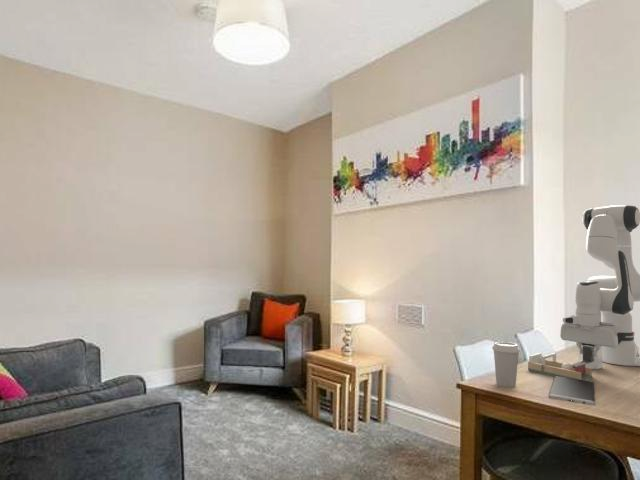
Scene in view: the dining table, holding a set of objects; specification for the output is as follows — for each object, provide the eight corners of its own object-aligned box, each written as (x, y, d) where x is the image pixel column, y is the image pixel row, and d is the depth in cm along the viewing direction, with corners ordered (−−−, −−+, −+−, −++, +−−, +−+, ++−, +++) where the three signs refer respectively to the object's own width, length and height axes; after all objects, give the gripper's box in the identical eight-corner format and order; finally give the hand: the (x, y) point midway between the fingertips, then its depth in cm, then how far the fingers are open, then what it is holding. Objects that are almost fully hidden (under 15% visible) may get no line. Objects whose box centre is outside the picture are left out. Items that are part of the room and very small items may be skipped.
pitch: (540, 366, 189) (540, 350, 189) (591, 377, 173) (591, 359, 173) (528, 370, 182) (528, 353, 182) (580, 382, 166) (580, 363, 167)
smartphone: (548, 399, 148) (548, 394, 148) (554, 379, 171) (554, 375, 171) (594, 407, 141) (594, 402, 141) (594, 385, 164) (594, 381, 164)
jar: (601, 366, 191) (601, 338, 192) (603, 370, 184) (603, 341, 185) (577, 363, 196) (577, 336, 196) (579, 367, 188) (579, 339, 189)
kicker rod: (585, 370, 179) (585, 345, 179) (593, 371, 176) (593, 346, 176) (570, 376, 169) (570, 349, 170) (578, 378, 167) (578, 351, 167)
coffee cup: (524, 385, 161) (524, 344, 162) (514, 390, 155) (514, 348, 155) (498, 379, 168) (498, 340, 168) (487, 384, 161) (487, 343, 162)
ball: (563, 371, 178) (563, 361, 178) (574, 373, 175) (574, 363, 175) (559, 372, 176) (559, 362, 176) (570, 375, 172) (570, 364, 173)
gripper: (620, 323, 171) (620, 358, 170) (565, 316, 187) (565, 349, 186) (614, 324, 167) (615, 361, 167) (558, 318, 183) (558, 351, 183)
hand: (588, 354), depth 177 cm, fingers closed on kicker rod, 3 cm apart
